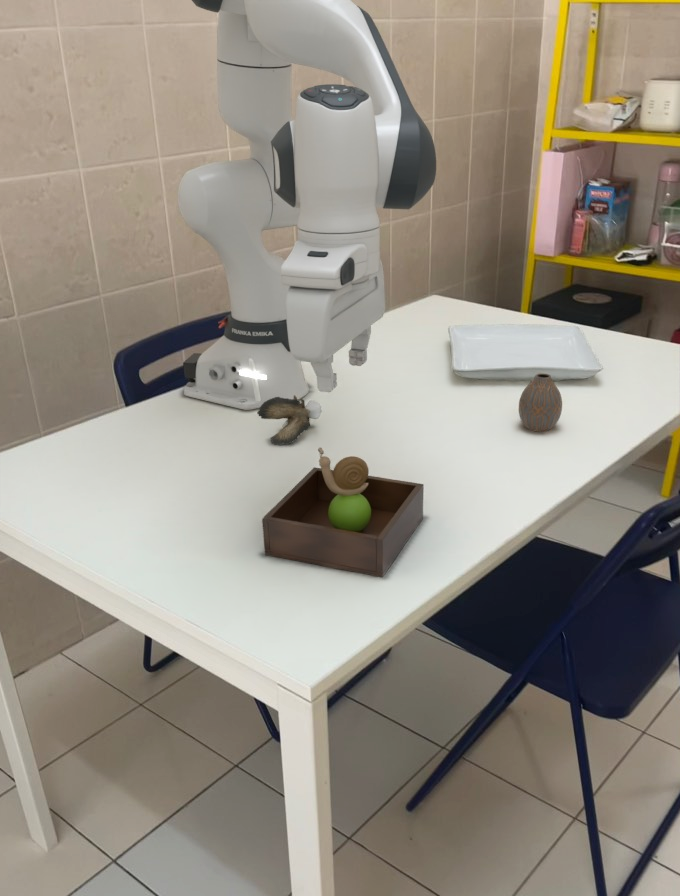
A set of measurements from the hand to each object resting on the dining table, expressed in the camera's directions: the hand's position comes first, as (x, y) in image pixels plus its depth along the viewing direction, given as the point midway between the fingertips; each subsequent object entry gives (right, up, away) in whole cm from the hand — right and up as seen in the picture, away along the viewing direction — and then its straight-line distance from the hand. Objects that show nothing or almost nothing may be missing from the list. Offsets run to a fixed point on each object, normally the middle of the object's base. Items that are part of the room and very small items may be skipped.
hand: (343, 376), depth 102 cm
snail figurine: (0, -18, +10) cm, 21 cm away
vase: (+30, -1, +41) cm, 51 cm away
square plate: (+32, +15, +70) cm, 78 cm away
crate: (0, -19, +11) cm, 21 cm away
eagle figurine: (-10, -2, +40) cm, 41 cm away
